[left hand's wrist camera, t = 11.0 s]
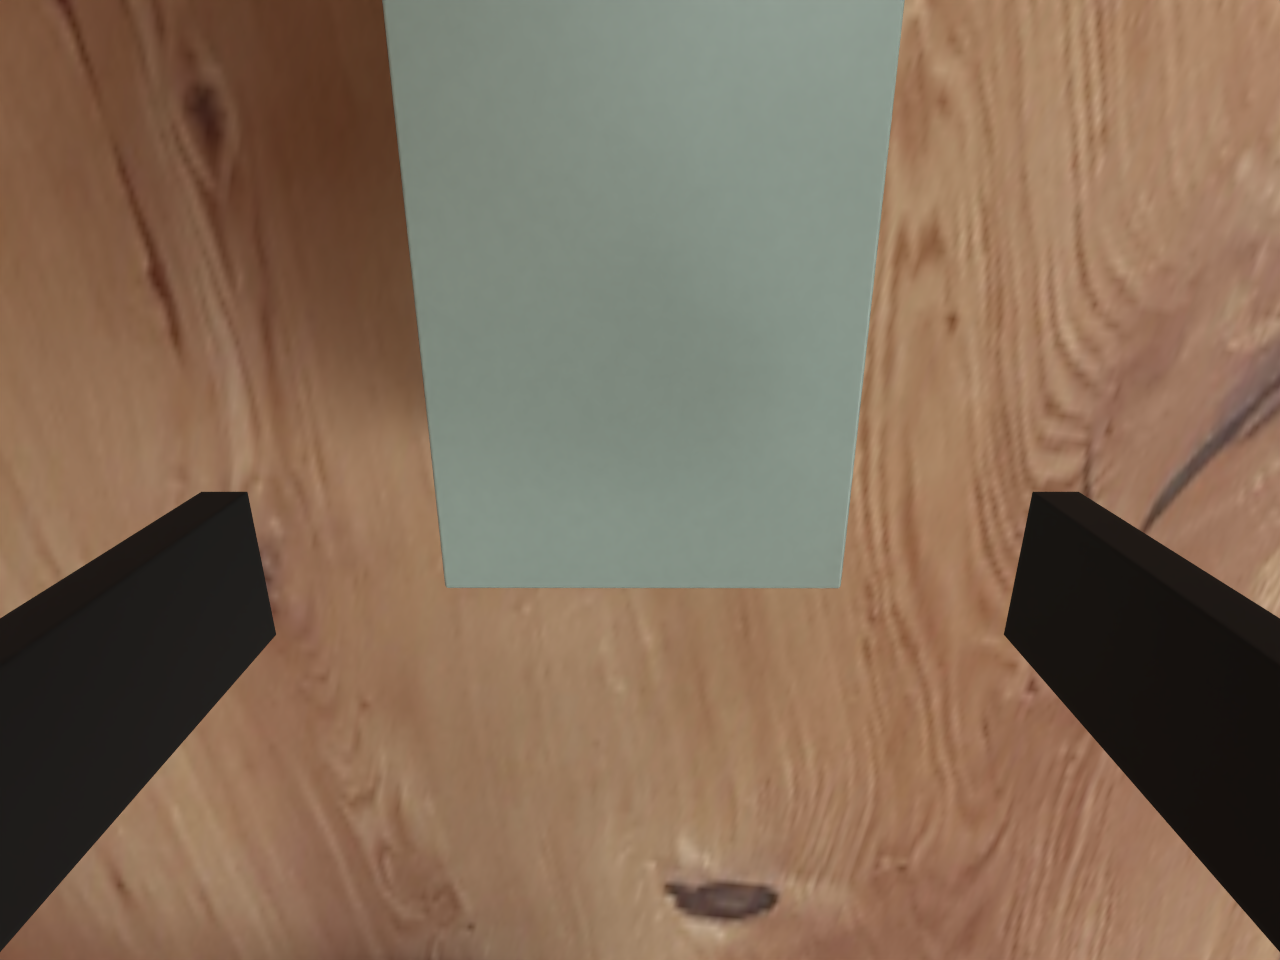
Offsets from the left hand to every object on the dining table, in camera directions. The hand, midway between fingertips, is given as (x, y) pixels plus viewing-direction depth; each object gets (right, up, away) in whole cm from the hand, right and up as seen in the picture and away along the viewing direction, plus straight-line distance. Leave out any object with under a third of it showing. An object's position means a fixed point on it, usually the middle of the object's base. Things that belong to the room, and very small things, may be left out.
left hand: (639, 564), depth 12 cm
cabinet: (0, +11, +14) cm, 17 cm away
